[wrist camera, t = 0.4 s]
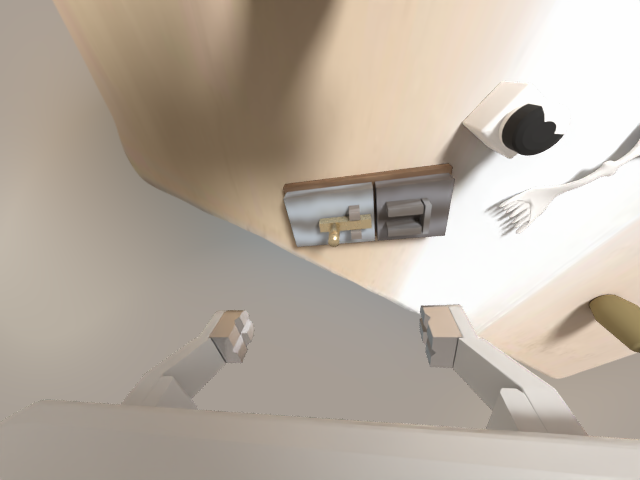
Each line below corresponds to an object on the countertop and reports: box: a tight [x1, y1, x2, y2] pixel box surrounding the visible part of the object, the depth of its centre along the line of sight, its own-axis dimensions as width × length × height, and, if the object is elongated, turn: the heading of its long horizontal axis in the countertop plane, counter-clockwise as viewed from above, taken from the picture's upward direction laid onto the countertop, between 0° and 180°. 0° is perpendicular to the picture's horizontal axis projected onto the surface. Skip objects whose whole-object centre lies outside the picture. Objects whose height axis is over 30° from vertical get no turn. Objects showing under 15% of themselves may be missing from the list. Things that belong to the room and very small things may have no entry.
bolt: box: [319, 214, 372, 247], centre depth 43 cm, size 2×10×7 cm, turn 100°
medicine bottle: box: [463, 81, 570, 159], centre depth 33 cm, size 7×7×12 cm
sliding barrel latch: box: [283, 163, 455, 247], centre depth 47 cm, size 14×32×8 cm, turn 100°
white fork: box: [499, 139, 640, 233], centre depth 39 cm, size 9×32×4 cm, turn 135°
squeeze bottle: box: [589, 294, 640, 353], centre depth 53 cm, size 8×8×18 cm
